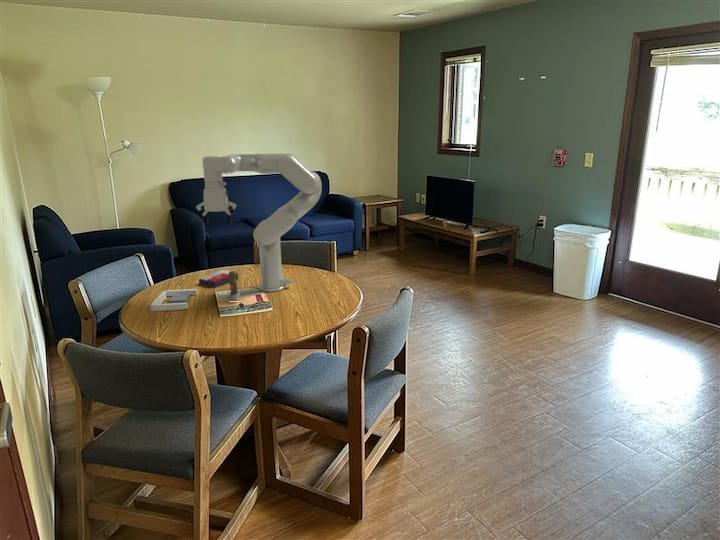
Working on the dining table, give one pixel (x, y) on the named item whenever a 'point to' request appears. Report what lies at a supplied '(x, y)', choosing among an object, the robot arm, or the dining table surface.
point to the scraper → (233, 288)
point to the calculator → (216, 279)
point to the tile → (179, 299)
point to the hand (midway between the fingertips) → (218, 223)
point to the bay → (171, 306)
